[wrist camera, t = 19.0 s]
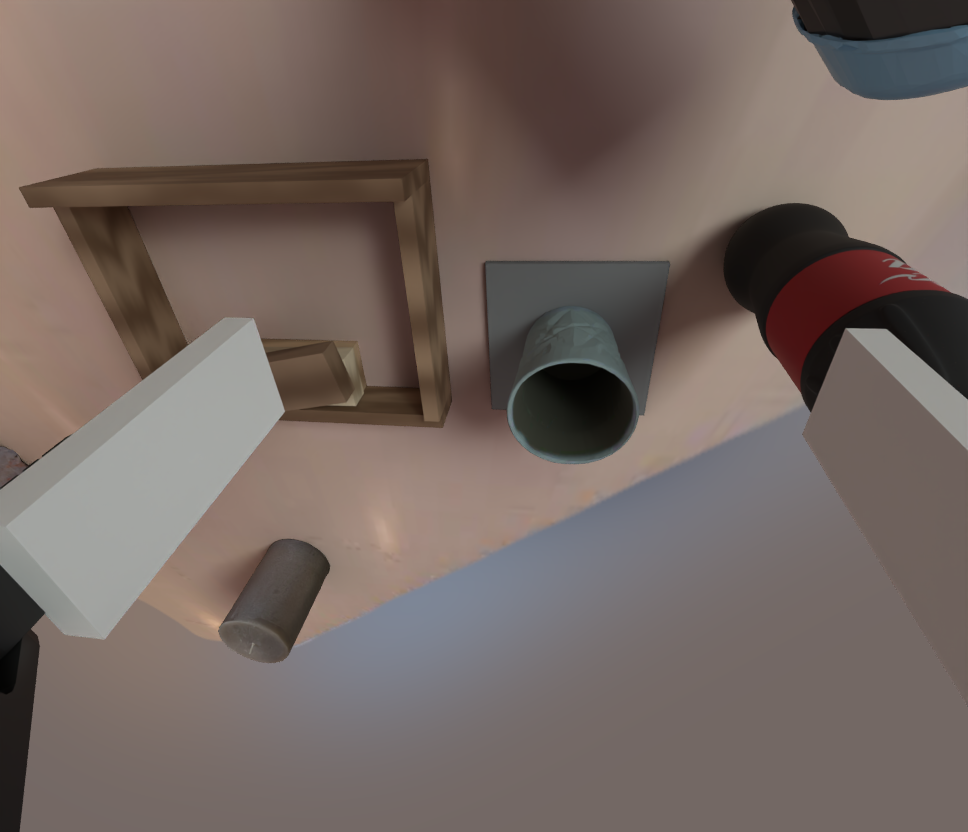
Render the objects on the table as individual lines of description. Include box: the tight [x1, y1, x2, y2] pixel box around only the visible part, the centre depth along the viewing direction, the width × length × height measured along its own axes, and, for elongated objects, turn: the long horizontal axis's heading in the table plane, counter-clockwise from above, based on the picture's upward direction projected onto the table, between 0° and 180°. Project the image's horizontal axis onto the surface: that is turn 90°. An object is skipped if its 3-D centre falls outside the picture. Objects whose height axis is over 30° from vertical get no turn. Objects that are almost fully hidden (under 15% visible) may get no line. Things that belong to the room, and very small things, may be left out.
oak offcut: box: [261, 339, 367, 391], centre depth 54 cm, size 6×12×2 cm, turn 92°
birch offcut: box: [263, 347, 364, 406], centre depth 52 cm, size 6×12×2 cm, turn 94°
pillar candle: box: [218, 539, 330, 663], centre depth 71 cm, size 10×10×15 cm
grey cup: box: [507, 306, 639, 464], centre depth 44 cm, size 10×10×12 cm
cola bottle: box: [724, 203, 968, 412], centre depth 30 cm, size 8×8×30 cm
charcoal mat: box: [485, 261, 670, 415], centre depth 49 cm, size 16×16×1 cm
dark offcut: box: [265, 341, 355, 411], centre depth 50 cm, size 6×12×2 cm, turn 104°
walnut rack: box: [19, 159, 452, 428], centre depth 47 cm, size 24×31×8 cm
